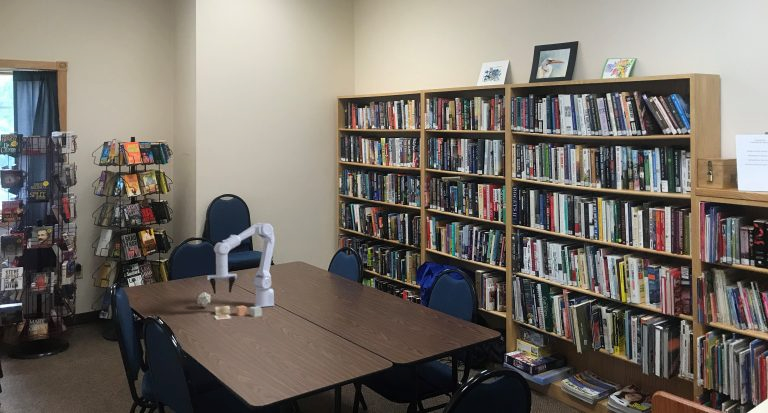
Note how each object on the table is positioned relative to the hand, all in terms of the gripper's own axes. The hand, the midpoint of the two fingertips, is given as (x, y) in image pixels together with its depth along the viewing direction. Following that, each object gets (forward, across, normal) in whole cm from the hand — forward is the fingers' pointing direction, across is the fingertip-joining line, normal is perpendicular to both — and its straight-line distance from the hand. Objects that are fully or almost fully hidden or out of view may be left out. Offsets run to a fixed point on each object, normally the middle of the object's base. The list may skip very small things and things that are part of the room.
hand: (222, 292), depth 313 cm
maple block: (+11, 0, 0) cm, 11 cm away
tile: (+10, +2, +11) cm, 15 cm away
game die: (+10, +7, -14) cm, 19 cm away
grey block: (+10, -14, +13) cm, 22 cm away
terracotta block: (+10, -8, +8) cm, 15 cm away
